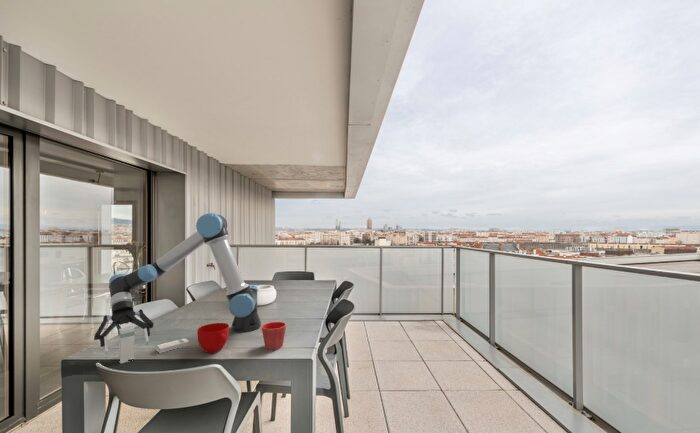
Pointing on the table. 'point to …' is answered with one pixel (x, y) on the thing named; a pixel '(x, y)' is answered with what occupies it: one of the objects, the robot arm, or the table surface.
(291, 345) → the table surface
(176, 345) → the strip
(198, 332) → the ceramic cup
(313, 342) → the table surface
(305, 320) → the table surface
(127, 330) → the stub
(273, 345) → the flower pot
